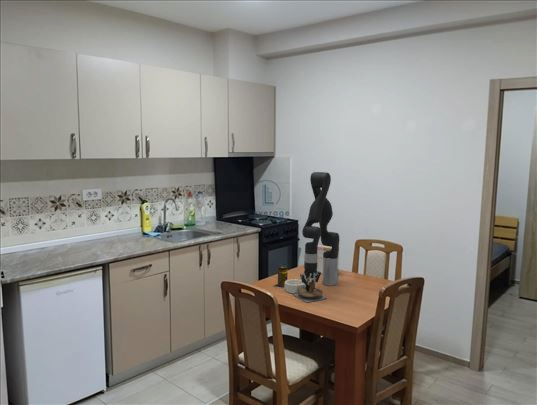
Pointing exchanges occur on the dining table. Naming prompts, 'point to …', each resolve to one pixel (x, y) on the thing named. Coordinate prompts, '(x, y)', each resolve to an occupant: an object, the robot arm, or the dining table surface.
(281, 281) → the condiment
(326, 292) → the dining table surface
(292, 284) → the bowl
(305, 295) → the lid
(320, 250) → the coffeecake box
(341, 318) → the dining table surface
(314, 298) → the mat
